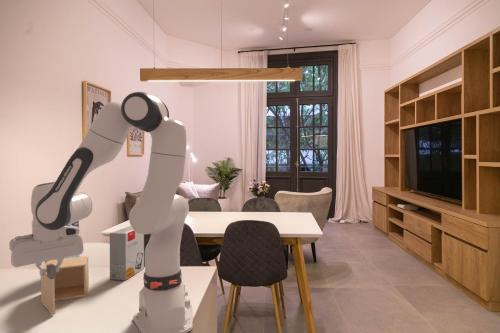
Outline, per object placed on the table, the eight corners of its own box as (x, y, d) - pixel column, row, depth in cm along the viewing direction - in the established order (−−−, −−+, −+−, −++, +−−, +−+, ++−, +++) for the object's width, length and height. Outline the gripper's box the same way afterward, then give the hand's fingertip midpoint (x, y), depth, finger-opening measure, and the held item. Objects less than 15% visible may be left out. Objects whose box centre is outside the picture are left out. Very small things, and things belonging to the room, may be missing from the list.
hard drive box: (125, 281, 135) (124, 233, 134) (109, 280, 136) (108, 233, 136) (144, 268, 150) (144, 226, 150) (129, 267, 152) (129, 225, 151)
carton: (86, 296, 121) (85, 264, 120) (42, 302, 115) (41, 269, 115) (88, 285, 131) (88, 255, 131) (48, 290, 126) (48, 260, 125)
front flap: (51, 315, 105) (50, 267, 105) (39, 303, 114) (38, 258, 114) (57, 313, 106) (55, 266, 106) (44, 301, 115) (43, 257, 115)
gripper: (10, 239, 97) (12, 285, 97) (84, 228, 111) (85, 268, 111) (7, 235, 101) (9, 279, 102) (78, 225, 115) (80, 263, 116)
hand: (49, 273), depth 106 cm, fingers open, 2 cm apart
